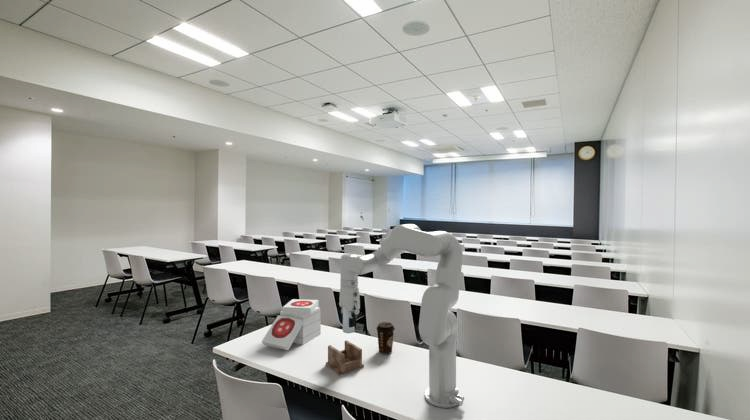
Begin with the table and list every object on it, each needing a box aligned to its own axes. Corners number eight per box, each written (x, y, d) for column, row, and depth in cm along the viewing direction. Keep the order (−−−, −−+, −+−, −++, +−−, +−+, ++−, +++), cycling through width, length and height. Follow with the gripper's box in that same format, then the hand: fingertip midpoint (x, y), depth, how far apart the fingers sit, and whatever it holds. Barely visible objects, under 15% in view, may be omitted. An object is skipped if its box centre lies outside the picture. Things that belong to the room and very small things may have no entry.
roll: (357, 331, 141) (357, 305, 141) (346, 334, 138) (347, 307, 138) (350, 327, 145) (350, 302, 145) (340, 330, 142) (340, 304, 142)
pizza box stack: (258, 348, 160) (258, 311, 160) (298, 328, 187) (298, 296, 187) (289, 356, 151) (289, 317, 151) (326, 334, 178) (326, 301, 178)
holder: (364, 367, 141) (364, 348, 141) (340, 375, 134) (340, 356, 133) (348, 357, 150) (348, 339, 150) (325, 364, 143) (325, 346, 143)
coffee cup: (395, 348, 160) (395, 321, 160) (394, 356, 151) (394, 328, 151) (377, 347, 160) (377, 321, 160) (375, 355, 152) (375, 327, 152)
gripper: (367, 285, 137) (367, 328, 137) (346, 278, 151) (345, 317, 151) (352, 288, 132) (352, 332, 133) (331, 280, 146) (331, 320, 146)
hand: (348, 324), depth 142 cm, fingers closed on roll, 5 cm apart
